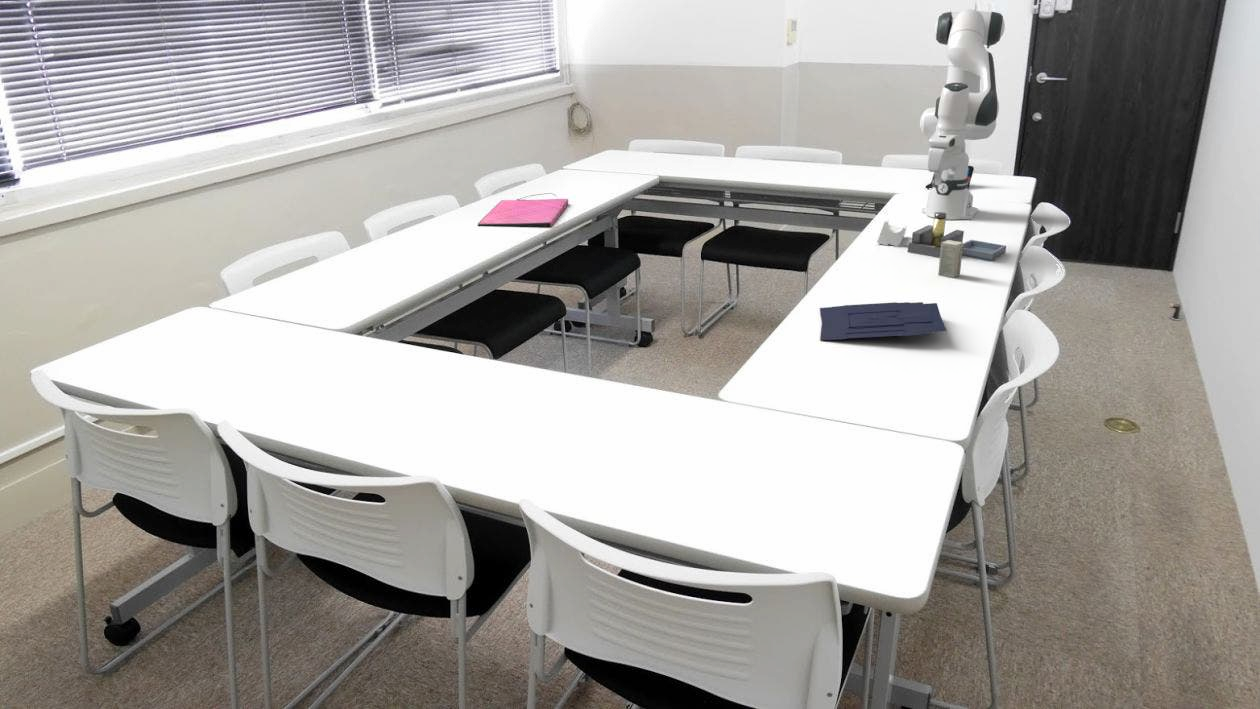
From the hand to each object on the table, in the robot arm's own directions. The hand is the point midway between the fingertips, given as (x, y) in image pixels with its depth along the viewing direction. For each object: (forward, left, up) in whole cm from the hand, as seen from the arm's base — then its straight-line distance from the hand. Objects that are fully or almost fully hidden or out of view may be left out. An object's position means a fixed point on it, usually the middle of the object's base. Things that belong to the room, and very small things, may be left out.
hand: (944, 182), depth 290 cm
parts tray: (-4, +13, -22) cm, 26 cm away
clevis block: (+1, 0, -22) cm, 22 cm away
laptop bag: (+49, -141, -23) cm, 151 cm away
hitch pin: (0, 0, -22) cm, 22 cm away
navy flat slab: (+76, +18, -23) cm, 81 cm away
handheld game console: (-90, -34, -23) cm, 99 cm away
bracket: (-1, -16, -23) cm, 27 cm away
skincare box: (+23, +14, -22) cm, 35 cm away
